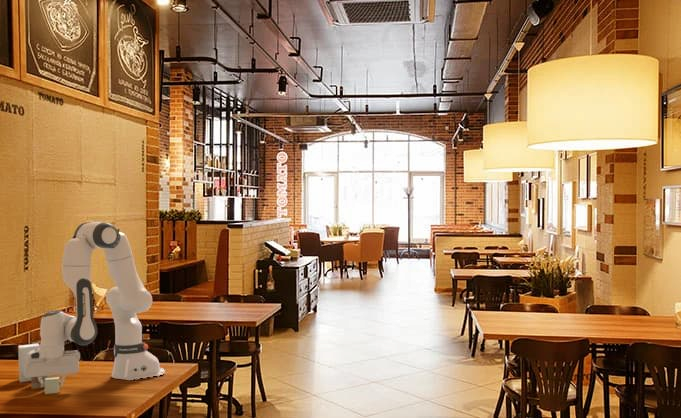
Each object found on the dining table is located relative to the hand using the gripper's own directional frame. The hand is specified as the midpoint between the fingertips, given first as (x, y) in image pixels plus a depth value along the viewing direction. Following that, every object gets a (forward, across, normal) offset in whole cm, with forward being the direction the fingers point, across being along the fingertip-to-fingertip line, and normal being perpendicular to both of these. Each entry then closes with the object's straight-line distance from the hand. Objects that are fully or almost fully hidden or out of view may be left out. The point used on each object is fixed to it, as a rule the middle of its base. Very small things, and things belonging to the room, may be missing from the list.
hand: (51, 386), depth 257 cm
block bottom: (+2, +5, -10) cm, 11 cm away
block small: (+2, 0, 0) cm, 2 cm away
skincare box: (+2, +10, -23) cm, 25 cm away
